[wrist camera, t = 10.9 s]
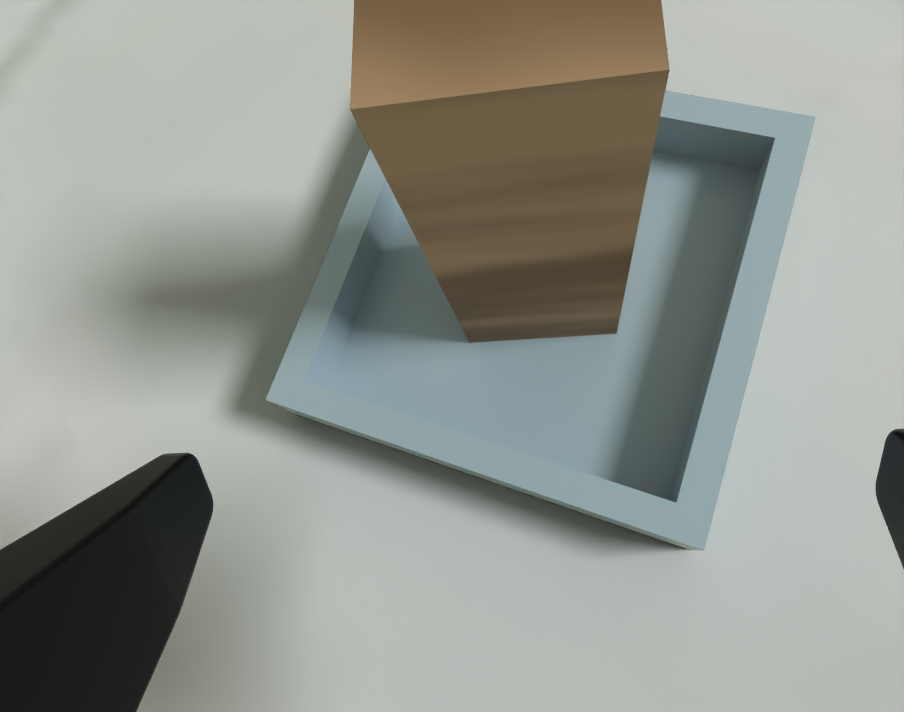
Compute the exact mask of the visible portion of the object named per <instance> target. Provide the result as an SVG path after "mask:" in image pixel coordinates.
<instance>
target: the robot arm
mask: <svg viewBox="0 0 904 712" xmlns="http://www.w3.org/2000/svg"><path fill="white" fill-rule="evenodd" d="M876 496H877V501H878V504H879V506H880V509H881V512H882V514H883V517H884V519H885V522H886V525H887V527H888V530H889V532H890V535H891V537H892V540H893V543H894V545H895V548H896V550H897V553H898V556H899V558H900V561H901V563H902V566H903V569H904V429H895V430H893V431H892V432H890V433H889V435H888V436H887V438H886V441H885V445H884V450H883V454H882V458H881V462H880V467H879V471H878V475H877V480H876ZM212 512H213V498H212V495H211V492H210V490H209V487H208V485H207V482H206V480H205V477H204V475H203V472H202V469H201V467H200V464H199V462H198V460H197V458H196V457H195V456H194V455H192V454H190V453H169V454H163V455H161V456H159V457H157V458H155V459H154V460H152V461H150V462H149V463H147V464H145V465H144V466H142V467H140V468H138V469H137V470H135V471H133V472H132V473H130V474H128V475H127V476H125V477H123V478H122V479H120V480H118V481H116V482H115V483H113V484H111V485H110V486H108V487H106V488H105V489H103V490H101V491H99V492H98V493H96V494H94V495H93V496H91V497H89V498H88V499H86V500H84V501H82V502H81V503H79V504H77V505H76V506H74V507H72V508H71V509H69V510H67V511H65V512H64V513H62V514H60V515H59V516H57V517H55V518H54V519H52V520H50V521H48V522H47V523H45V524H43V525H42V526H40V527H38V528H37V529H35V530H33V531H32V532H30V533H28V534H26V535H25V536H23V537H21V538H20V539H18V540H16V541H15V542H13V543H11V544H9V545H8V546H6V547H4V548H3V549H1V550H0V712H136V711H137V709H138V706H139V704H140V702H141V700H142V697H143V695H144V693H145V691H146V688H147V686H148V684H149V682H150V679H151V677H152V675H153V673H154V670H155V668H156V666H157V664H158V661H159V659H160V657H161V654H162V652H163V650H164V648H165V645H166V643H167V641H168V639H169V636H170V634H171V632H172V630H173V627H174V625H175V622H176V620H177V618H178V615H179V613H180V610H181V607H182V605H183V602H184V599H185V596H186V593H187V590H188V587H189V584H190V581H191V578H192V575H193V572H194V569H195V566H196V563H197V560H198V556H199V553H200V550H201V547H202V544H203V541H204V538H205V535H206V532H207V529H208V526H209V523H210V520H211V516H212Z"/></svg>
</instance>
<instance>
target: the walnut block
mask: <svg viewBox="0 0 904 712" xmlns="http://www.w3.org/2000/svg"><path fill="white" fill-rule="evenodd" d="M668 74H669V62H668V54H667V46H666V37H665V29H664V21H663V13H662V4H661V0H354V23H353V50H352V76H351V102H350V110H351V112H352V114H353V116H354V118H355V120H356V122H357V124H358V126H359V128H360V129H361V131H362V133H363V135H364V137H365V139H366V141H367V143H368V145H369V147H370V149H371V151H372V153H373V155H374V157H375V159H376V161H377V163H378V165H379V167H380V169H381V171H382V173H383V175H384V177H385V178H386V180H387V182H388V184H389V186H390V188H391V190H392V192H393V194H394V196H395V198H396V200H397V202H398V204H399V206H400V208H401V210H402V212H403V214H404V216H405V218H406V220H407V222H408V224H409V226H410V227H411V229H412V231H413V233H414V235H415V237H416V239H417V241H418V243H419V245H420V247H421V249H422V251H423V253H424V255H425V257H426V259H427V261H428V263H429V265H430V267H431V269H432V271H433V273H434V275H435V276H436V278H437V280H438V282H439V284H440V286H441V288H442V290H443V292H444V294H445V296H446V298H447V300H448V302H449V304H450V306H451V308H452V310H453V312H454V314H455V316H456V318H457V320H458V322H459V324H460V325H461V327H462V329H463V331H464V333H465V335H466V337H467V339H468V341H469V343H475V342H491V341H508V340H524V339H540V338H556V337H572V336H588V335H604V334H617V329H618V324H619V319H620V314H621V309H622V304H623V299H624V294H625V289H626V284H627V279H628V274H629V269H630V264H631V259H632V254H633V249H634V244H635V239H636V234H637V229H638V224H639V219H640V214H641V209H642V204H643V199H644V194H645V189H646V184H647V179H648V174H649V169H650V164H651V159H652V154H653V149H654V144H655V139H656V134H657V129H658V124H659V119H660V114H661V109H662V104H663V99H664V94H665V89H666V84H667V79H668Z"/></svg>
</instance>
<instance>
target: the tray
mask: <svg viewBox="0 0 904 712" xmlns="http://www.w3.org/2000/svg"><path fill="white" fill-rule="evenodd" d="M814 121H815V117H813V116H807V115H802V114H796V113H790V112H785V111H779V110H773V109H768V108H762V107H756V106H750V105H745V104H739V103H733V102H728V101H722V100H716V99H711V98H705V97H699V96H694V95H688V94H682V93H676V92H671V91H665V94H664V99H663V104H662V109H661V114H660V119H659V124H658V129H657V134H656V139H655V144H654V149H653V154H652V159H651V164H650V169H649V174H648V179H647V184H646V189H645V194H644V199H643V204H642V209H641V214H640V219H639V224H638V229H637V234H636V239H635V244H634V249H633V254H632V259H631V264H630V269H629V274H628V279H627V284H626V289H625V294H624V299H623V304H622V309H621V314H620V319H619V324H618V329H617V334H604V335H588V336H572V337H556V338H540V339H524V340H508V341H491V342H475V343H469V341H468V339H467V337H466V335H465V333H464V331H463V329H462V327H461V325H460V324H459V322H458V320H457V318H456V316H455V314H454V312H453V310H452V308H451V306H450V304H449V302H448V300H447V298H446V296H445V294H444V292H443V290H442V288H441V286H440V284H439V282H438V280H437V278H436V276H435V275H434V273H433V271H432V269H431V267H430V265H429V263H428V261H427V259H426V257H425V255H424V253H423V251H422V249H421V247H420V245H419V243H418V241H417V239H416V237H415V235H414V233H413V231H412V229H411V227H410V226H409V224H408V222H407V220H406V218H405V216H404V214H403V212H402V210H401V208H400V206H399V204H398V202H397V200H396V198H395V196H394V194H393V192H392V190H391V188H390V186H389V184H388V182H387V180H386V178H385V177H384V175H383V173H382V171H381V169H380V167H379V165H378V163H377V161H376V159H375V157H374V155H373V153H372V151H371V149H370V150H369V152H368V155H367V157H366V159H365V162H364V164H363V167H362V169H361V171H360V174H359V176H358V179H357V181H356V183H355V186H354V188H353V191H352V193H351V195H350V198H349V200H348V203H347V205H346V207H345V210H344V212H343V215H342V217H341V219H340V222H339V224H338V227H337V229H336V232H335V234H334V236H333V239H332V241H331V244H330V246H329V248H328V251H327V253H326V256H325V258H324V260H323V263H322V265H321V268H320V270H319V272H318V275H317V277H316V280H315V282H314V284H313V287H312V289H311V292H310V294H309V296H308V299H307V301H306V304H305V306H304V308H303V311H302V313H301V316H300V318H299V320H298V323H297V325H296V328H295V330H294V333H293V335H292V337H291V340H290V342H289V345H288V347H287V349H286V352H285V354H284V357H283V359H282V361H281V364H280V366H279V369H278V371H277V373H276V376H275V378H274V381H273V383H272V385H271V388H270V390H269V393H268V395H267V397H266V400H267V401H269V402H271V403H273V404H275V405H277V406H279V407H281V408H283V409H286V410H288V411H290V412H292V413H294V414H296V415H299V416H302V417H305V418H308V419H310V420H313V421H316V422H319V423H322V424H325V425H328V426H331V427H334V428H337V429H339V430H342V431H345V432H348V433H351V434H354V435H357V436H360V437H363V438H366V439H368V440H371V441H374V442H377V443H380V444H383V445H386V446H389V447H392V448H395V449H398V450H400V451H403V452H406V453H409V454H412V455H415V456H418V457H421V458H424V459H427V460H429V461H432V462H435V463H438V464H441V465H444V466H447V467H450V468H453V469H456V470H458V471H461V472H464V473H467V474H470V475H473V476H476V477H479V478H482V479H485V480H487V481H490V482H493V483H496V484H499V485H502V486H505V487H508V488H511V489H514V490H516V491H519V492H522V493H525V494H528V495H531V496H534V497H537V498H540V499H543V500H545V501H548V502H551V503H554V504H557V505H560V506H563V507H566V508H569V509H572V510H574V511H577V512H580V513H583V514H586V515H589V516H592V517H595V518H598V519H601V520H603V521H606V522H609V523H612V524H615V525H618V526H621V527H624V528H627V529H630V530H632V531H635V532H638V533H641V534H644V535H647V536H650V537H653V538H656V539H659V540H661V541H664V542H667V543H670V544H673V545H676V546H679V547H682V548H685V549H688V550H704V548H705V544H706V540H707V536H708V533H709V529H710V525H711V521H712V517H713V513H714V509H715V505H716V502H717V498H718V494H719V490H720V486H721V482H722V478H723V474H724V471H725V467H726V463H727V459H728V455H729V451H730V447H731V443H732V439H733V436H734V432H735V428H736V424H737V420H738V416H739V412H740V408H741V405H742V401H743V397H744V393H745V389H746V385H747V381H748V377H749V374H750V370H751V366H752V362H753V358H754V354H755V350H756V346H757V342H758V339H759V335H760V331H761V327H762V323H763V319H764V315H765V311H766V308H767V304H768V300H769V296H770V292H771V288H772V284H773V280H774V276H775V273H776V269H777V265H778V261H779V257H780V253H781V249H782V245H783V242H784V238H785V234H786V230H787V226H788V222H789V218H790V214H791V211H792V207H793V203H794V199H795V195H796V191H797V187H798V183H799V179H800V176H801V172H802V168H803V164H804V160H805V156H806V152H807V148H808V145H809V141H810V137H811V133H812V129H813V125H814Z"/></svg>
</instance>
